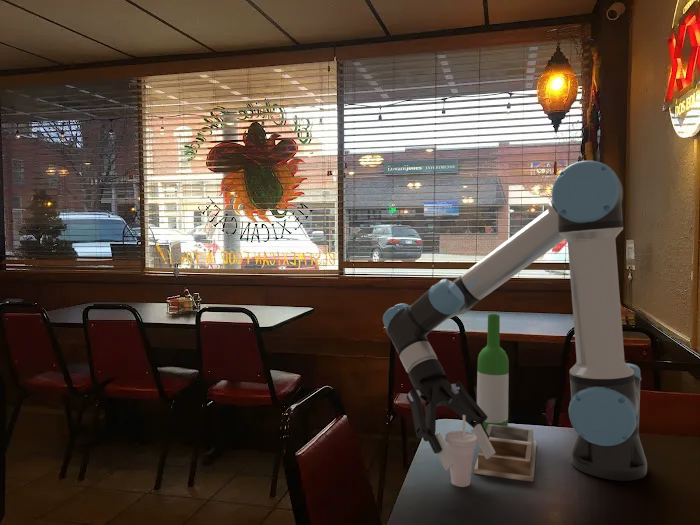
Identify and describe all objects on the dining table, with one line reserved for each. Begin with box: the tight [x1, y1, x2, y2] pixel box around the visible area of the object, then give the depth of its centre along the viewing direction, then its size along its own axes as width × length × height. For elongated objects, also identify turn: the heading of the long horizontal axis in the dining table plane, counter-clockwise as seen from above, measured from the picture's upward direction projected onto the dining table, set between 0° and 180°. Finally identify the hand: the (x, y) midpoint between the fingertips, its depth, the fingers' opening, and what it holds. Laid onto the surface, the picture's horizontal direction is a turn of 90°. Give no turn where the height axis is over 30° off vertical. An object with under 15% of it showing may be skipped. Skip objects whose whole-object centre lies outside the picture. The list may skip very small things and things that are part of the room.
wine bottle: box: [476, 313, 510, 430], centre depth 145 cm, size 8×8×30 cm
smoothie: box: [444, 415, 478, 488], centre depth 116 cm, size 6×6×14 cm
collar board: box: [473, 424, 537, 483], centre depth 128 cm, size 12×21×4 cm, turn 160°
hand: (471, 461), depth 113 cm, fingers open, 10 cm apart
